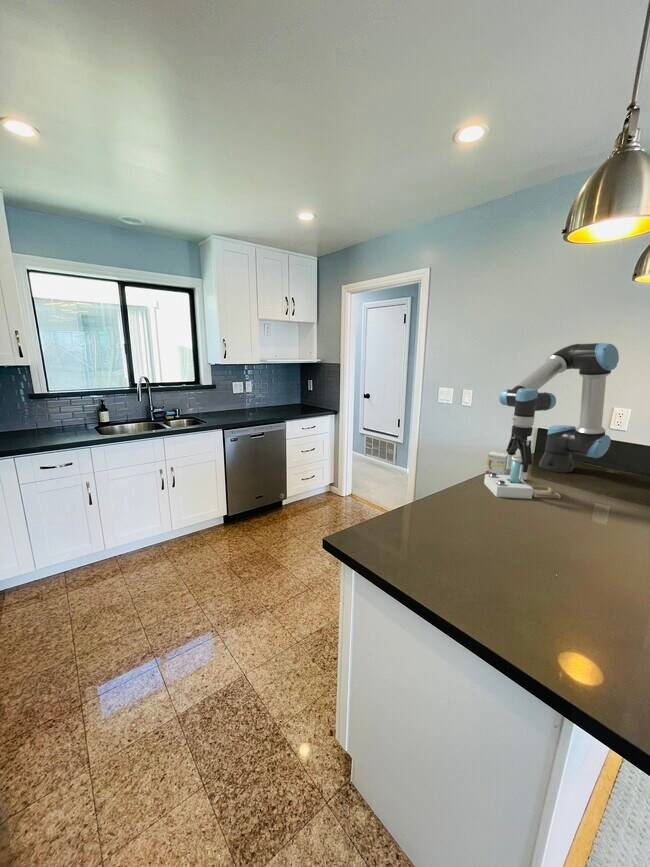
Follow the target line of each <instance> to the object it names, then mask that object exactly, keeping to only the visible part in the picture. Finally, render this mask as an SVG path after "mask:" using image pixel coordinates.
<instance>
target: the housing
mask: <svg viewBox="0 0 650 867" xmlns="http://www.w3.org/2000/svg"><path fill="white" fill-rule="evenodd" d="M499 480H502V481H505V486H498V481H499ZM509 480H510V474H509V475H508V474H506V475H496V478H490V474H486V473H484V480H483V481H484V482H483V484H484V485H485V486H486V487H487V488H488V490H490V491H491V493H492V494H493V495H494V496H495V497H496V498H511V499H512V498H513V499H529V500H531V499H533V495H532V494H533V488H532V487H531V486H532V485H530V484H528V483H527V482H526V481H525V480H523V479H521V484H517V483H510V482H509Z"/></svg>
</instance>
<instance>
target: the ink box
mask: <svg viewBox="0 0 650 867" xmlns="http://www.w3.org/2000/svg"><path fill="white" fill-rule="evenodd" d="M508 455H509V454H508V453H502V452H496V451H490V452H488V453H487V458H486V459H487V460H486V467H485V474H490V473H496V474H497V475H507V471H508V469H506V468H507V460H508Z"/></svg>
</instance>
